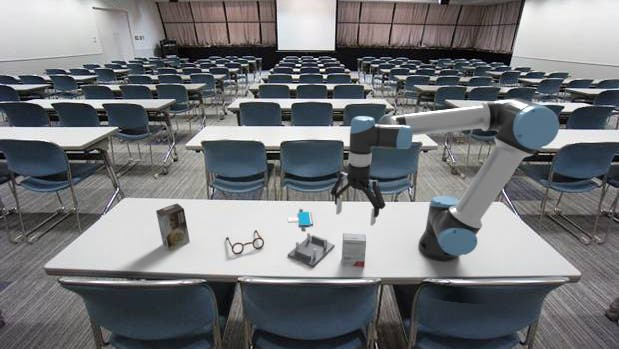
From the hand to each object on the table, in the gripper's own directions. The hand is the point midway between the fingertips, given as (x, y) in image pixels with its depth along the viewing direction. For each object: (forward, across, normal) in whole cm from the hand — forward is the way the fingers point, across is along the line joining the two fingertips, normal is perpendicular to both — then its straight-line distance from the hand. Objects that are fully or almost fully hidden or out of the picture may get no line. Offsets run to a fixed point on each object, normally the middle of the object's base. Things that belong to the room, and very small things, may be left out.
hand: (355, 218), depth 117 cm
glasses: (+20, +43, +14) cm, 50 cm away
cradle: (+20, +17, +3) cm, 26 cm away
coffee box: (+20, +67, +30) cm, 76 cm away
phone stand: (+20, +35, -15) cm, 43 cm away
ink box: (+20, 0, 0) cm, 20 cm away
